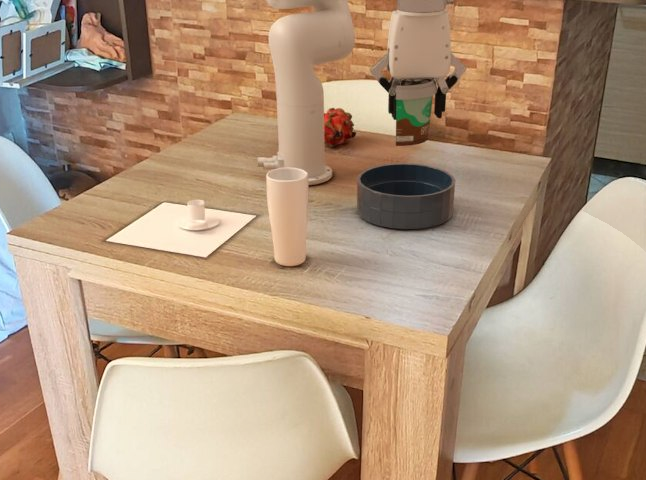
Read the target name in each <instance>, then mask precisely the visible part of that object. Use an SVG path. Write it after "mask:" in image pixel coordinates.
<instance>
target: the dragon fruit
mask: <svg viewBox="0 0 646 480" xmlns="http://www.w3.org/2000/svg"><path fill="white" fill-rule="evenodd" d="M352 118H353V115H352V114H351V113H350V112H348V111H347V112H346V111H345V110H344V109H343V108H341V107H337V108H335V107H330V108H328V110H327V111H326V113H325V112H324V143H326V144H327V146H328V147H330V148H335V147H336V146H337V145H345V144H346V143H348V142H349V141H350V140H351V139H354V138H355V137H356V135H357V131H354V129H355V128H354V126H355V123H354V122H353V121H352Z"/></svg>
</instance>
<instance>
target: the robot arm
mask: <svg viewBox="0 0 646 480" xmlns="http://www.w3.org/2000/svg"><path fill="white" fill-rule="evenodd" d="M265 2H266V3H267V4H268V5H269V6H270V7H271V8H273V9H276V10H291V9H300V8H308V7H312V10H313V11H306V12H300V13H292V14H287V15H284V16H281V17H280V18H278V19H276V20H275V21H274V23H272V25H271V27H270V29H269V31H268V37H267V39H268V47H269V52H270V56H271V60H272V61H271V62H272V66H273V72H274V81H275V95H276V96H275V97H276V116H277V117H276V119H277V138H278V139H277V142H278V151H277V152H276V155H272V157H265V156H264V157H263V156H261V157H259V156H258V157H257V167H258V168H259V167H260V168H262V167H263V170H274V169H278V168H298V169H302V170H304V171H306V172H307V174H308V186H313V185H320V184H323V183H326V182H328V181H329V180H330V179H331V178H332V177H333V169H332V168H331V167H330V166H329V165H327V164H326V159H325V155H326V154H325V152H326V151H325V148H326V147H325V140H324V113H325V95H324V93H325V92H324V87H323V84H322V81H321V80H320V78H319V77H318V75H317V73H316V71H315V69H314V67H315V66H318V65H322V64H327V63H328V64H329V63H334V62H339V61H342V60H345V59H347V58H348V57H349V56H350V55H351V54H352V52H353V50H354V48H355V42H356V41H355V40H356V37H355V36H356V35H355V34H356V33H355V27H354V23H353V17H352V14H351V11H350V6H349V1H348V0H265ZM454 2H455V0H397V2H396V3H397V5H396V7H397V8H396V10H393V11H392V12H391V15H390V21H389V26H388V27H389V28H388V35H387V44H386V45H387V48H386V53H385V54H384V55H383V56H382V57H381V58H380V59H379V60H378V61H377V62H376V63H375V64H374V65H373V66H372V67H370V69H369V72H370V74H371V76H372V77H374V79H375V80H376V81H377V82H378V84H379V85H380V86H381V87H382V88H383V89H384V90H385V91H386V92H387V93H388V100H387V101H388V102H387V103H388V104H387V106H388V107H387V111H388V114H389V115H391V118H392V119H393V120H394V121H396V90H397V86H400V85H401V82H402V80H404V79H426V78H434V80H435V81H436V86H437V93H436V94H434V106H433V107H434V109H433V113H434V116H436V118H437V119H442V118H443V113H445V112H446V102H447V94H448V93H449V91H450V90H451V89H452V88H453V86H455V85H456V84H457V82H458V80H459V79H461V77H462V76H463V75H464V74H465V73H466V72H467V67H466V66H465V65H464V64H463V63H462V61H460V60H459V59H458V58H457V57H456V56H455V55H454V54H453V53H452V51H451V50H452V48H451V47H452V45H451V43H452V42H451V25H450V24H451V23H450V15H449V11H448V10H446V7H447V5H449V4H454ZM451 66H453V67H454V69H453V71H452V73H451V74H449V73H450V71H451ZM385 68H386V71H387V72H388V73H389V74H390V79H389V80H388V79H387V78H386V77H385V76H384V75H383V73H382V71H383V70H384V69H385ZM445 77H446V78H445Z"/></svg>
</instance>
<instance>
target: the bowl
mask: <svg viewBox="0 0 646 480" xmlns="http://www.w3.org/2000/svg"><path fill="white" fill-rule="evenodd" d="M455 191H456V179H455V177H454V176H453V174H452V173H449V171H446V170H444V169H442V168H439V167H435V166H432V165H427V164H426V165H425V164H420V163H419V164H418V163H407V162H405V163H388V164H380V165H377V166H373V167H372V166H371V167H369V168H367V169H365V170H363V171H362V172H360V173H359V174H358V175H357V178H356V212H357V214H358V216H359V217H360V218H361V219H362V220H364V221H366V222H368V223H370V224H373V225H376V226H379V227H384V228H388V229H394V230H395V229H396V230H417V229H419V230H420V229H426V228H432V227H435V226H439V225H442V224H444V223H445V222H447V221H449V220H450V218H451V217H452V216H453V213H454V205H455V204H454V203H455Z"/></svg>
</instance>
